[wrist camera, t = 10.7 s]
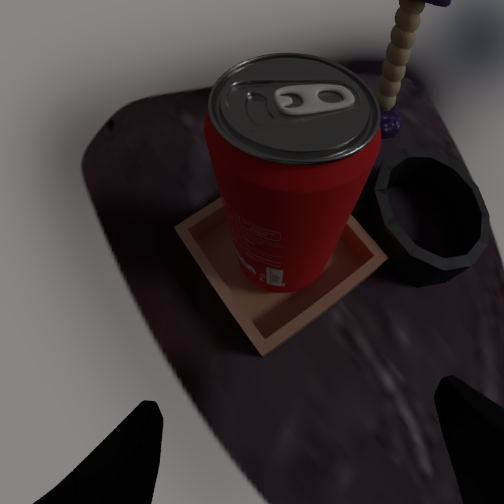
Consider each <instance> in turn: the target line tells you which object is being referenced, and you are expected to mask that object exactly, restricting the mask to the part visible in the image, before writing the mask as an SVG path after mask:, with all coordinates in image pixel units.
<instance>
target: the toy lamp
mask: <svg viewBox="0 0 504 504" xmlns="http://www.w3.org/2000/svg"><path fill="white" fill-rule="evenodd" d="M425 2H426V3H429V4H433V5H436V6H441V7H447V6H449V5H450V3H451V0H399V5H400V8H399V9H398V10H397V12H396V14H395V23H396V25H395V26H394V27H393V29H392V31H391V42H390V43H389V45H388V47H387V50H386V55H387V59H386V60H385V61H384V63H383V67H382V72H383V75H382V76H381V77H380V79H379V84H378V87H379V89H378V91H377V92H376V94H375V97H376V99H377V101H378V104H379V107H380V113H381V119H380V129H381V137H386V138H388V137H392V136H394V135H396V134H397V133H398V132H399V131H400V128H401V117H400V114H399V112H398V110H397V109H396V107H395V106H394V104H395V101H396V94H397V93H398V92H399V89H400V85H401V83H400V80H401V79H402V78H403V77H404V74H405V70H406V69H405V64H406V63H407V62H408V60H409V58H410V48H411V47H412V45H413V43H414V41H415V31H416V29H417V28H418V27H419V24H420V15H419V14H420V13H421V12H422V11H423V9H424V7H425Z"/></svg>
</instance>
